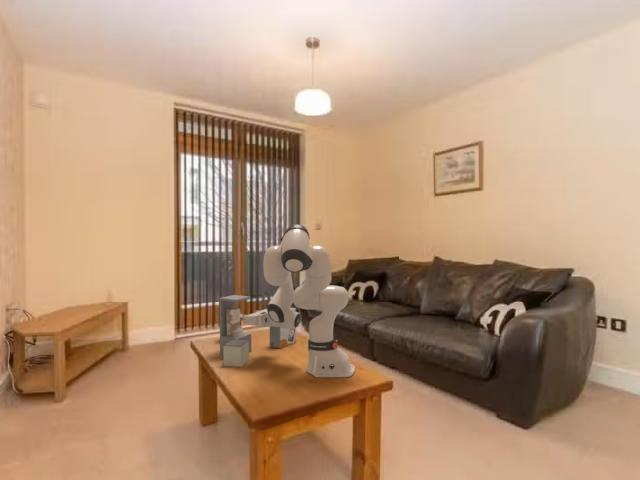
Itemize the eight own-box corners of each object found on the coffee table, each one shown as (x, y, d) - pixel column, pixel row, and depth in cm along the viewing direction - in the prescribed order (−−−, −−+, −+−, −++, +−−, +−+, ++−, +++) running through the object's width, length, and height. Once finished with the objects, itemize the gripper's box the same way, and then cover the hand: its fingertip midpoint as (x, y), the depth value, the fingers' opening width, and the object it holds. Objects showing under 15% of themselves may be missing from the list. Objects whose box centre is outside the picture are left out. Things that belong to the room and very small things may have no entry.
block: (240, 334, 194) (239, 308, 193) (233, 336, 189) (233, 309, 189) (233, 333, 196) (232, 307, 196) (226, 335, 192) (226, 309, 192)
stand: (248, 360, 180) (248, 340, 180) (241, 366, 171) (240, 346, 171) (232, 359, 182) (231, 339, 182) (223, 365, 173) (223, 345, 173)
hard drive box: (280, 349, 198) (279, 312, 197) (269, 346, 202) (268, 311, 201) (296, 341, 211) (296, 307, 210) (285, 339, 215) (285, 306, 215)
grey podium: (251, 351, 194) (250, 296, 194) (237, 357, 184) (236, 299, 184) (234, 348, 200) (233, 294, 199) (220, 354, 190) (219, 298, 190)
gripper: (282, 306, 188) (261, 304, 195) (258, 315, 170) (236, 312, 177) (283, 318, 189) (261, 315, 195) (258, 328, 171) (236, 325, 177)
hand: (249, 314), depth 186 cm, fingers open, 8 cm apart
